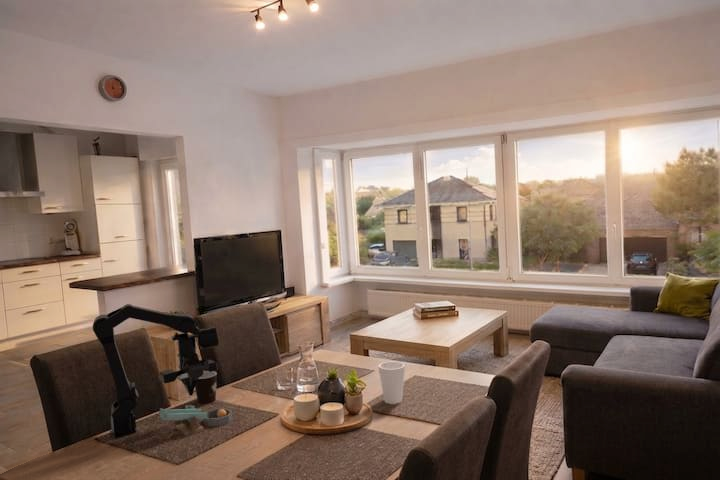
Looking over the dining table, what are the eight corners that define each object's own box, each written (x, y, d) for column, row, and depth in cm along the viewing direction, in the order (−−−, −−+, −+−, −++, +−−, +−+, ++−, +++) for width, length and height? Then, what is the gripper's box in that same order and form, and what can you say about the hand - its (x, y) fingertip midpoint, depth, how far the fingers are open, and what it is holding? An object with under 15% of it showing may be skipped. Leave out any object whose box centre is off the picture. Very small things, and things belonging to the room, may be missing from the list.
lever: (164, 420, 166) (165, 412, 167) (150, 409, 177) (151, 401, 177) (207, 419, 175) (208, 411, 175) (191, 408, 186) (192, 400, 186)
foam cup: (406, 405, 186) (405, 369, 185) (380, 406, 186) (378, 370, 185) (405, 395, 195) (403, 360, 194) (380, 396, 195) (378, 361, 194)
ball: (223, 421, 180) (217, 416, 179) (219, 419, 183) (213, 414, 181) (229, 413, 181) (223, 408, 180) (225, 411, 184) (219, 406, 182)
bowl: (211, 428, 174) (210, 421, 174) (200, 420, 181) (200, 413, 181) (235, 420, 180) (235, 413, 180) (224, 413, 187) (224, 406, 187)
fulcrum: (163, 443, 165) (162, 427, 164) (154, 435, 171) (153, 419, 171) (203, 430, 173) (202, 415, 173) (193, 422, 180) (192, 408, 179)
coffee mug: (204, 406, 194) (202, 380, 193) (190, 402, 199) (188, 376, 198) (229, 396, 203) (228, 371, 202) (215, 392, 208) (213, 367, 207)
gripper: (168, 362, 170) (172, 409, 171) (222, 349, 181) (226, 393, 183) (156, 355, 178) (160, 400, 180) (209, 343, 190) (212, 386, 191)
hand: (190, 395), depth 183 cm, fingers closed
